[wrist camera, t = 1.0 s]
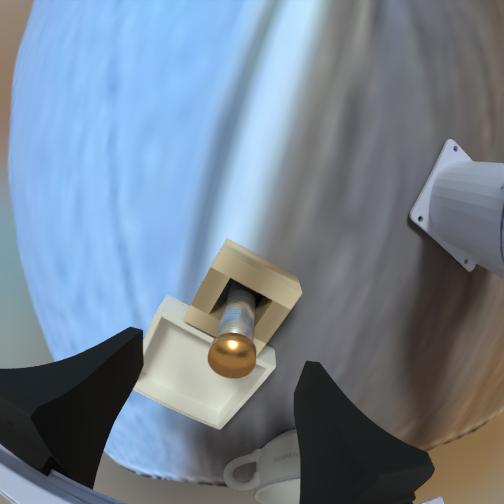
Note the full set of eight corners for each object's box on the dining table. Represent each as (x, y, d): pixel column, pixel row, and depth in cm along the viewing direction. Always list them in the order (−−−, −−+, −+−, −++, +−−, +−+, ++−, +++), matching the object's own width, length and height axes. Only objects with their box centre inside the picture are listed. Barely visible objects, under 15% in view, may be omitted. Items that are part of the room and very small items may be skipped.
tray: (274, 348, 23) (275, 367, 21) (222, 412, 26) (219, 429, 23) (167, 294, 22) (157, 308, 20) (134, 369, 25) (125, 385, 22)
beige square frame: (297, 276, 21) (302, 293, 18) (257, 335, 23) (256, 356, 20) (226, 237, 20) (221, 248, 18) (192, 301, 22) (182, 319, 19)
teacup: (363, 423, 26) (380, 476, 18) (314, 467, 29) (320, 514, 21) (253, 397, 25) (250, 463, 17) (216, 447, 28) (208, 500, 20)
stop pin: (264, 284, 21) (265, 354, 13) (249, 308, 22) (241, 384, 14) (236, 269, 21) (220, 333, 13) (222, 294, 22) (199, 365, 13)
